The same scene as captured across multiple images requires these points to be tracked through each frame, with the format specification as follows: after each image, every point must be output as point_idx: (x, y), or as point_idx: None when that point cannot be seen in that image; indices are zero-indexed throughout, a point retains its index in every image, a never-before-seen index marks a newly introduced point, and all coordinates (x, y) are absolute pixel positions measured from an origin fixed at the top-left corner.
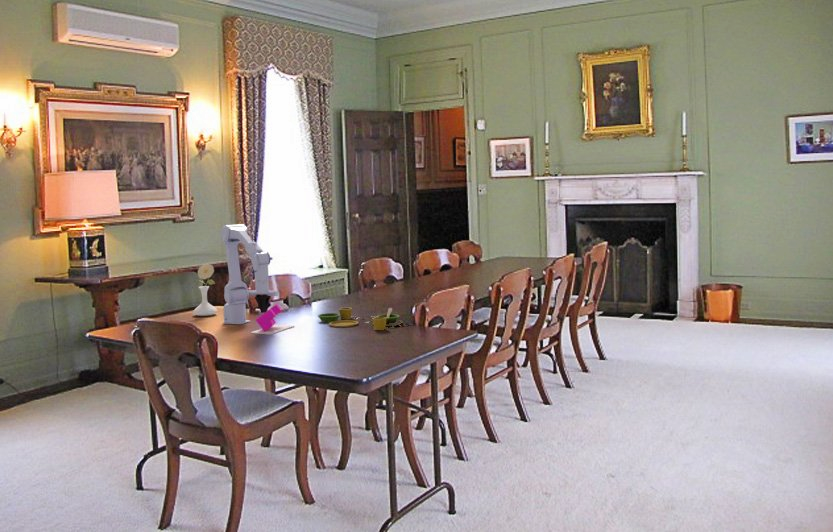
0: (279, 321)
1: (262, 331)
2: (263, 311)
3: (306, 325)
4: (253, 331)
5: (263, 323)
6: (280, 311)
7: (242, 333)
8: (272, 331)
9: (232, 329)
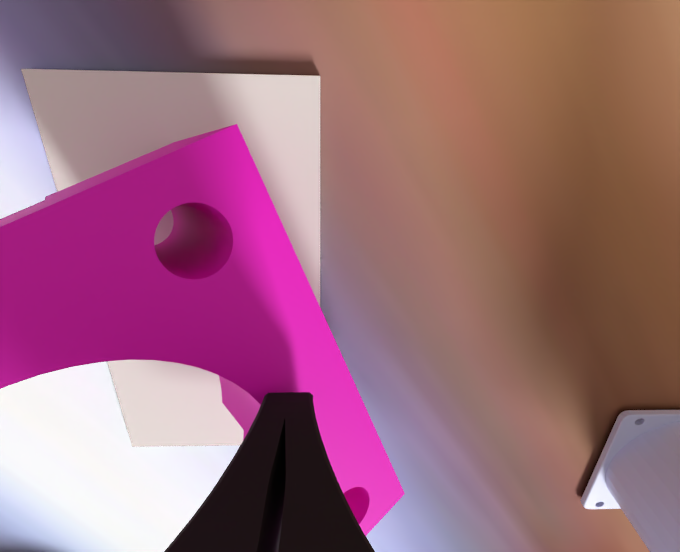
0: (377, 544)
1: None
2: (261, 409)
3: (94, 495)
4: (314, 130)
5: (142, 159)
6: None
7: (418, 51)
8: None
9: (624, 230)
